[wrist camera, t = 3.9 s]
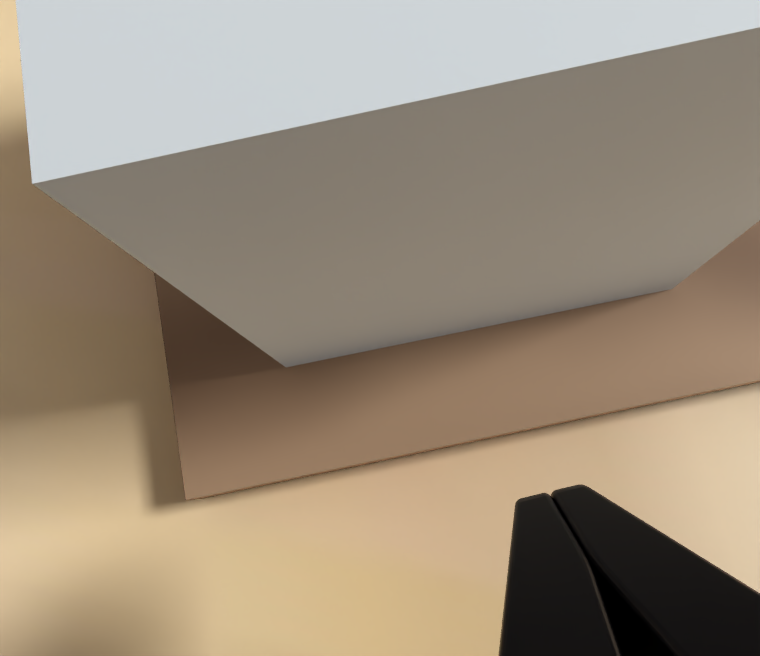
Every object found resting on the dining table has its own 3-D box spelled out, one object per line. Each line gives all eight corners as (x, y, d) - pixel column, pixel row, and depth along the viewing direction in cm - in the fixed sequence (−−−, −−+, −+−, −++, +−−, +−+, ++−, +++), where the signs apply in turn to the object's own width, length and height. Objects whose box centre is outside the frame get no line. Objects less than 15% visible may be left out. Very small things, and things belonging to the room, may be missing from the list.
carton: (672, 288, 16) (1100, -46, 6) (285, 367, 16) (31, 184, 6) (573, -46, 18) (760, -745, 8) (230, 30, 18) (-33, -544, 8)
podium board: (821, 368, 16) (850, 360, 15) (203, 497, 17) (185, 499, 16) (595, -285, 21) (605, -330, 20) (107, -167, 21) (88, -205, 20)
